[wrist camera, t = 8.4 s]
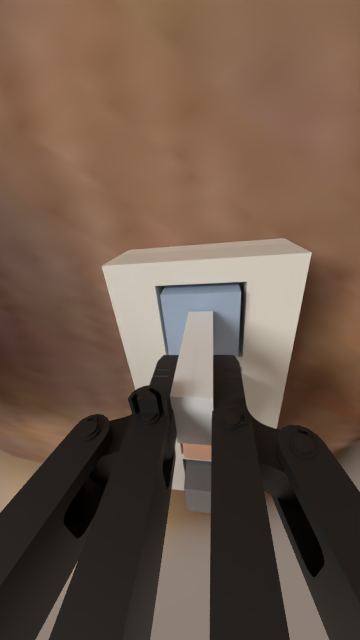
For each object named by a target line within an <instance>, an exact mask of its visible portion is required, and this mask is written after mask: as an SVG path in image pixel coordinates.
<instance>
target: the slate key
mask: <svg viewBox="0 0 360 640" xmlns="http://www.w3.org/2000/svg"><path fill="white" fill-rule="evenodd" d="M160 298H161V305H162V312H163V318H164V325H165V332H166V338H167V345H168V352H169V355H179V353H180V348H181V344H182V339H183V334H184V330H185V325H186V321H187V316H188V312H198V311H213V338H214V355H234V356H235V357H236V358H238V349H239V327H240V306H241V290H240V287H239V284H238V282H230V283H208V284H186V285H165V287H164V289H163V291H162V293H161V294H160Z"/></svg>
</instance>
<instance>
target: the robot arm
mask: <svg viewBox="0 0 360 640" xmlns="http://www.w3.org/2000/svg"><path fill="white" fill-rule="evenodd" d="M128 401H129V404H130V407H131V411H132V414H131V415H130V416H127V417H124V418H120V419H116V420H112V421H108V418H107V417H105V416H104V415H100V414H95V415H91V416H88V417H86V418H84V419H83V420H81V421H80V422H79V423H78V424H77V425H76V426H75V427H74V428H73V429H72V430H71V432H70V433H69V434H68V435H67V436H66V437H65V439H64V440H63V441H62V442H61V443H60V444H59V446H58V447H57V448H56V449H55V450H54V451H53V452H52V454H51V455H50V456H49V457H48V458H47V459H46V461H45V462H44V463H43V464H42V465H41V466H40V468H39V469H38V470H37V471H36V472H35V473H34V475H33V476H32V477H31V478H30V479H29V480H28V481H27V483H26V484H25V485H24V486H23V487H22V489H20V491H19V492H18V493H17V494H16V495H15V496H14V498H13V499H12V500H11V501H10V502H9V504H8V505H7V506H6V507H5V508H4V509H3V511H2V512H1V513H0V640H35V639H36V637H37V636H38V633H39V632H40V630H41V628H42V626H43V624H44V623H45V621H46V619H47V617H48V615H49V613H50V611H51V609H52V608H53V606H54V604H55V602H56V600H57V598H58V597H59V595H60V593H61V591H62V589H63V587H64V585H65V584H66V582H67V580H68V578H69V576H70V574H71V573H72V571H73V569H74V567H75V565H76V563H77V561H78V563H77V565H76V568H75V571H74V573H73V576H72V579H71V581H70V584H69V587H68V590H67V592H66V595H65V598H64V600H63V603H62V606H61V608H60V611H59V614H58V616H57V619H56V622H55V624H54V627H53V630H52V632H51V635H50V638H49V640H150V636H151V629H152V622H153V615H154V608H155V601H156V594H157V587H158V580H159V572H160V566H161V559H162V552H163V545H164V537H165V530H166V524H167V517H168V509H169V502H170V494H171V488H172V481H173V474H174V467H175V460H176V452H175V444H176V437H177V442H178V443H187V444H199V445H211V555H210V562H211V563H210V640H290V638H289V633H288V627H287V621H286V615H285V610H284V604H283V598H282V592H281V587H280V581H279V575H278V570H277V563H276V558H275V552H274V546H273V541H272V535H271V529H270V523H269V518H268V512H267V506H266V500H265V494H264V491H265V492H267V493H269V494H271V496H272V498H273V500H274V503H275V505H276V508H277V510H278V513H279V515H280V518H281V520H282V523H283V525H284V528H285V530H286V533H287V535H288V538H289V540H290V543H291V545H292V548H293V550H294V553H295V555H296V558H297V560H298V563H299V565H300V568H301V570H302V573H303V575H304V578H305V580H306V583H307V585H308V587H309V590H310V592H311V595H312V597H313V600H314V603H315V605H316V607H317V610H318V612H319V615H320V617H321V620H322V622H323V625H324V627H325V630H326V632H327V635H328V637H329V640H360V492H359V490H358V489H357V488H356V486H355V485H354V483H353V482H352V481H351V479H350V478H349V476H348V475H347V474H346V472H345V471H344V469H343V468H342V467H341V465H340V464H339V463H338V461H337V460H336V458H335V457H334V455H333V454H332V453H331V451H330V450H329V449H328V447H327V446H326V444H325V443H324V442H323V441H322V440H321V438H320V437H319V436H318V435H317V434H315V433H314V432H312V431H311V430H309V429H307V428H304V427H301V426H298V425H289V426H287V427H284V428H282V430H278V429H275V428H272V427H269V426H267V425H264V424H262V423H260V422H259V421H257V420H256V419H255V418H254V417H253V416H252V415H251V414H250V412H249V411H248V409H247V405H246V400H245V393H244V387H243V381H242V375H241V369H240V363H239V361H238V360H237V358H236V357H235V356H234V355H214V338H213V311H198V312H188V316H187V321H186V325H185V330H184V334H183V339H182V344H181V348H180V353H179V355H163V356H162V357H161V358H160V359H159V360H158V361H157V364H156V367H155V371H154V373H153V377H152V379H151V382H150V385H147V386H143V387H140V388H138V389H136V390H135V391H134V392H132V393H131V395H130V396H129V398H128Z"/></svg>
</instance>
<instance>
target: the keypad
mask: <svg viewBox="0 0 360 640" xmlns="http://www.w3.org/2000/svg"><path fill="white" fill-rule="evenodd" d="M311 253H312V252H310V251H308V250H306V249H304V248H302V247H300V246H298V245H296V244H294V243H292V242H290V241H288V240H287V239H285V238H280V239H267V240H254V241H241V242H227V243H214V244H201V245H188V246H175V247H161V248H148V249H135V250H128V251H126V252H125V253H123V254H121V255H120V256H118V257H116V258H115V259H113V260H111V261H109V262H108V263H106V264H104V265H103V266H102V269H103V273H104V276H105V280H106V284H107V287H108V291H109V295H110V298H111V302H112V306H113V309H114V313H115V317H116V320H117V324H118V328H119V331H120V335H121V339H122V342H123V346H124V350H125V353H126V357H127V361H128V364H129V368H130V372H131V375H132V379H133V383H134V386H135V390H136V389H138V388H140V387H143V386H147V385H150V382H151V379H152V377H153V373H154V371H155V367H156V364H157V361H158V360H159V359H160V358H161V357H162V356H163V355H169V352H168V345H167V338H166V332H165V325H164V318H163V312H162V305H161V298H160V294H161V293H162V291H163V289H164V287H165V285H186V284H208V283H230V282H238V284H239V287H240V290H241V306H240V327H239V349H238V358H237V360H238V361H239V363H240V369H241V375H242V381H243V387H244V393H245V400H246V405H247V409H248V411H249V412H250V414H251V415H252V416H253V417H254V418H255V419H256V420H257V421H259V422H260V423H262V424H264V425H267V426H269V427H272V428H275V429H277V425H278V420H279V415H280V410H281V405H282V400H283V395H284V389H285V384H286V379H287V374H288V369H289V364H290V359H291V354H292V349H293V344H294V339H295V334H296V329H297V324H298V319H299V314H300V309H301V304H302V299H303V294H304V289H305V284H306V279H307V274H308V269H309V263H310V258H311ZM175 452H176V460H175V467H174V474H173V481H172V488H171V489H175V490H184V481H185V471H186V461H187V459H189V458H184V451H183V444H182V443H178V442H177V438H176V444H175ZM189 460H200V459H189ZM200 461H211V460H200Z"/></svg>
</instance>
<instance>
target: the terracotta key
mask: <svg viewBox="0 0 360 640" xmlns="http://www.w3.org/2000/svg"><path fill="white" fill-rule="evenodd" d="M182 444H183V451H184V458H189V459H200V460H211V445H199V444H187V443H182Z"/></svg>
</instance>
